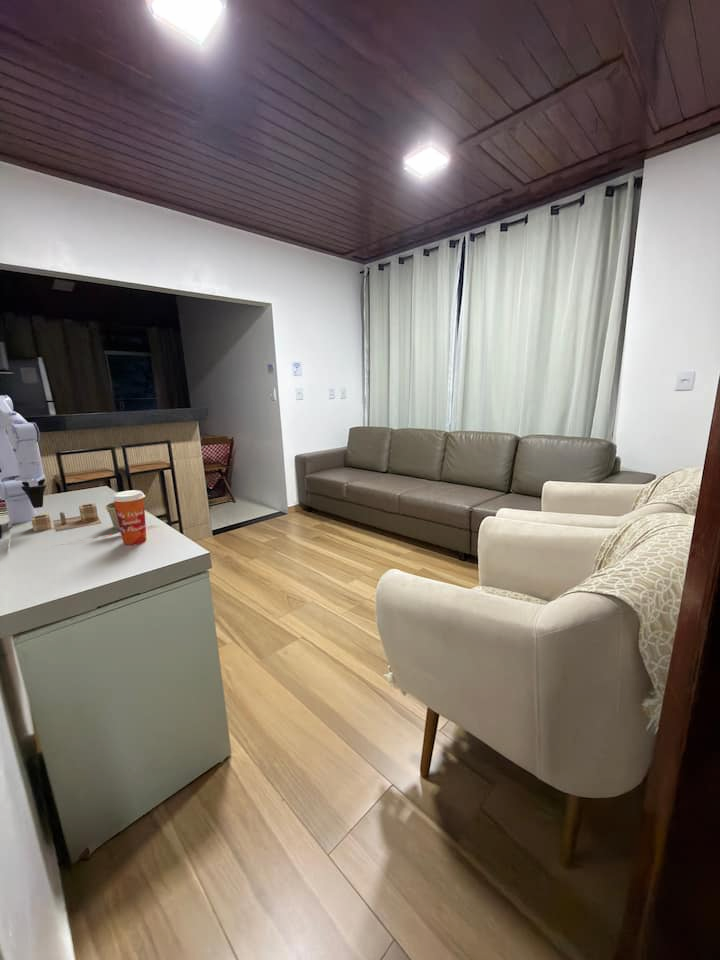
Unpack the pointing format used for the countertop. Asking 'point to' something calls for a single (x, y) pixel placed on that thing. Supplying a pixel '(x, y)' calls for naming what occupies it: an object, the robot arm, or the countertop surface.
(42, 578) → the countertop surface
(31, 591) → the countertop surface
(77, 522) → the pin board
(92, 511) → the seated sleeve
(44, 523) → the sleeve
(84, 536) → the countertop surface
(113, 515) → the flower pot
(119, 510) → the coffee cup
